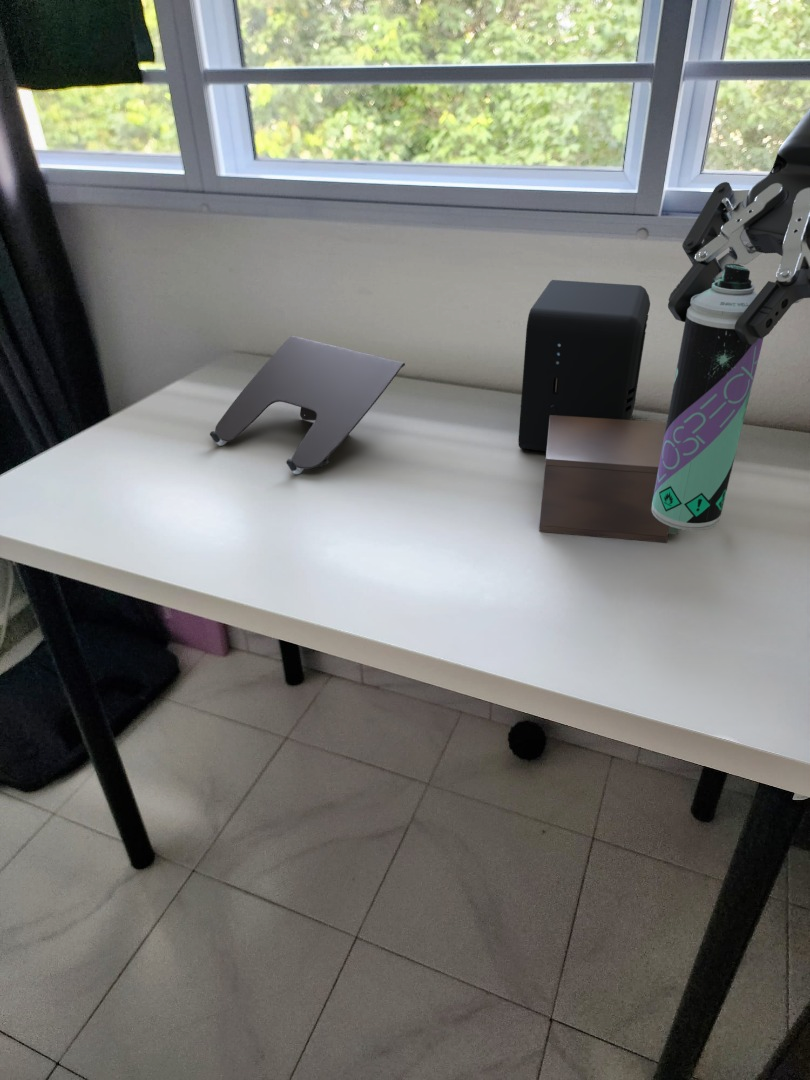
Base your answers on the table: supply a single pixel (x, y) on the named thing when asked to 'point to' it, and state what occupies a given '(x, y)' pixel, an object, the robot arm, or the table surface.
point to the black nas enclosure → (581, 355)
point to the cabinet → (602, 478)
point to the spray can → (706, 405)
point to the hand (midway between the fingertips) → (708, 324)
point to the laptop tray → (312, 395)
